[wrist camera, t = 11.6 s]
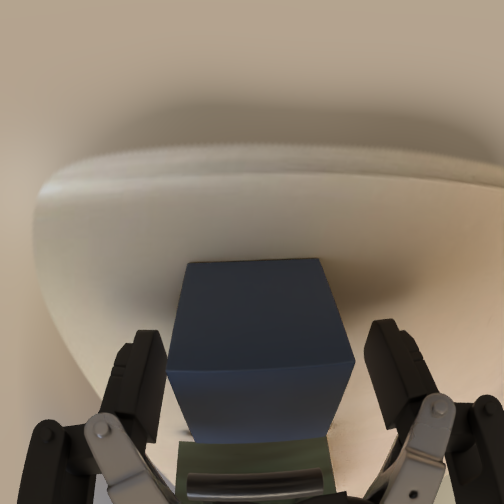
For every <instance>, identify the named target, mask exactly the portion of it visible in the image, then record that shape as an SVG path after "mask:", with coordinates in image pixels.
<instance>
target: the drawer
mask: <svg viewBox="0 0 504 504" xmlns="http://www.w3.org/2000/svg"><path fill="white" fill-rule="evenodd" d="M332 493H336V487H335V481H334V476H333V470H332V464H331V459H330V453H329V448H328V443H327V437H326V436H325V437H318V438H310V439H301V440H291V441H279V442H264V443H238V444H209V443H195V442H184V441H179V448H178V460H177V472H176V486H175V496H176V497H177V498H178V499H179V500H180V502H181V503H182V504H215V501H222V502H253V503H259V504H294V503H297V502H300V501H303V500H306V499H309V498H312V497H314V496H320V495H326V494H332Z"/></svg>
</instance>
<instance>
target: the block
mask: <svg viewBox="0 0 504 504" xmlns="http://www.w3.org/2000/svg"><path fill="white" fill-rule="evenodd" d="M355 362H356V361H355V358H354V355H353V352H352V349H351V346H350V343H349V340H348V337H347V334H346V331H345V328H344V326H343V323H342V320H341V317H340V314H339V311H338V309H337V306H336V303H335V300H334V298H333V295H332V292H331V289H330V287H329V284H328V281H327V279H326V276H325V273H324V271H323V268H322V266H321V263H320V260H319V259H293V260H267V261H240V262H212V263H188V264H187V267H186V272H185V276H184V281H183V285H182V290H181V294H180V299H179V304H178V308H177V313H176V318H175V323H174V328H173V333H172V338H171V343H170V348H169V354H168V359H167V365H166V373H167V376H168V379H169V381H170V384H171V386H172V389H173V391H174V394H175V396H176V399H177V401H178V404H179V406H180V409H181V411H182V413H183V416H184V418H185V420H186V423H187V425H188V427H189V429H190V432H191V434H192V436H193V438H194V440H195V443H209V444H238V443H264V442H279V441H291V440H301V439H310V438H318V437H325V436H326V434H327V432H328V430H329V427H330V425H331V423H332V421H333V418H334V416H335V414H336V411H337V409H338V406H339V404H340V402H341V399H342V397H343V394H344V392H345V389H346V386H347V384H348V381H349V379H350V376H351V373H352V370H353V368H354V365H355Z"/></svg>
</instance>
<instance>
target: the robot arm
mask: <svg viewBox="0 0 504 504" xmlns="http://www.w3.org/2000/svg"><path fill="white" fill-rule="evenodd" d="M364 359H365V363H366V366H367V369H368V372H369V375H370V378H371V381H372V384H373V387H374V390H375V393H376V396H377V399H378V403H379V406H380V409H381V412H382V416H383V419H384V422H385V426H386V429H387V430H389V429H393V428H396V429H397V432H398V434H397V436H396V438H395V440H394V443H393V445H392V447H391V449H390V451H389V454H388V456H387V458H386V460H385V462H384V464H383V466H382V468H381V470H380V472H379V474H378V476H377V477H376V479H375V480H374V482H373V483H372V484H371V486H370V487H369V489H368V490H367V492H366V494H365V496H364V497H363V499H362V498H358V497H352V496H347V492H346V491H344V492H338V493H332V494H326V495H320V496H314V497H312V498H309V499H306V500H303V501H300V502H297V503H294V504H433V502H434V500H435V497H436V495H437V492H438V490H439V487H440V484H441V482H442V479H443V476H444V473H445V469H446V465H445V463H443V457H444V455H445V459H446V463H447V467H448V471H449V475H450V479H451V483H452V487H453V492H454V496H455V502H456V504H504V410H503V408H502V405H501V403H500V402H499V400H498V399H497V398H495V397H494V396H491V395H482V396H480V397H479V398H478V399H477V400H476V401H475V402H474V403H456V402H453V401H452V399H451V398H450V397H448V396H447V395H445V394H442V393H440V392H439V391H438V389H437V387H436V384H435V382H434V380H433V378H432V375H431V373H430V371H429V369H428V367H427V365H426V363H425V360H423V356H422V354H421V352H419V348H418V346H417V344H416V342H415V340H414V338H413V337H411V336H410V335H409V334H408V333H407V332H406V331H405V330H402V331H399V329H398V327H397V325H396V323H395V321H394V320H393V319H383V320H374V321H373V322H372V325H371V328H370V331H369V334H368V337H367V340H366V343H365V347H364ZM166 365H167V354H166V352H165V349H164V346H163V343H162V340H161V337H160V334H159V331H158V330H138V331H137V332H136V335H135V338H134V342H133V343H125V345H124V346H123V347H122V348H121V349H120V351H119V352H118V353H117V356H116V359H115V362H114V367H113V368H112V371H111V376H110V378H109V381H108V384H107V387H106V391H105V394H104V397H103V401H102V404H101V408H100V410H99V412H98V414H95V415H94V416H92V417H91V418H90V419H89V420H88V421H87V423H85V424H80V425H74V426H66V427H62V426H61V425H60V424H59V423H58V422H57V421H55V420H49V419H48V420H43V421H41V422H40V423H38V424H37V425H36V427H35V428H34V430H33V433H32V437H31V440H30V444H29V448H28V452H27V456H26V460H25V464H24V469H23V473H22V478H21V483H20V488H19V494H18V500H17V504H93V498H94V490H95V482H96V474H103V476H104V478H105V480H106V482H107V484H108V488H107V492H108V495H109V497H110V499H111V501H112V503H113V504H182V503H181V502H180V500H179V499H178V498H177V497H176V496H175V495H174V493H173V492H172V491H171V490H170V489H169V487H168V486H167V484H166V483H165V481H164V480H163V479H162V477H161V476H160V474H159V473H158V471H157V470H156V468H155V467H154V465H153V464H152V462H151V461H150V459H149V457H148V456H147V454H146V453H145V449H146V443H156V438H157V431H158V425H159V418H160V412H161V406H162V400H163V394H164V388H165V383H166V377H167V373H166ZM215 504H259V503H253V502H222V501H215Z"/></svg>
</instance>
